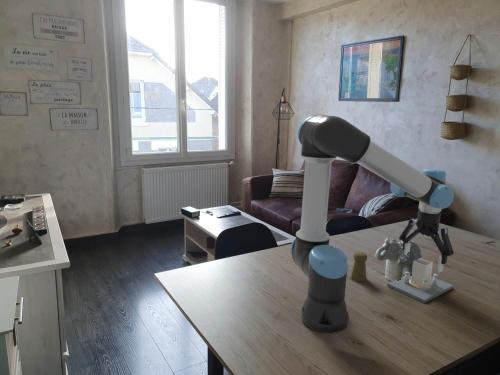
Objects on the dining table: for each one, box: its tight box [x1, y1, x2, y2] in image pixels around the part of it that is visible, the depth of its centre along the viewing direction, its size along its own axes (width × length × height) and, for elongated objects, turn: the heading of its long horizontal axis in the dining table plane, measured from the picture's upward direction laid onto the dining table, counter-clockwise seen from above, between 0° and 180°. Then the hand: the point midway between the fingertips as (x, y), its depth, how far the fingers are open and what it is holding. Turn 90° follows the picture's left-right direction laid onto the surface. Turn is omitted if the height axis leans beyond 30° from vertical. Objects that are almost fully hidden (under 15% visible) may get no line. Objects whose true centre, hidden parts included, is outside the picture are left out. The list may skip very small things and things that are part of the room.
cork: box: [350, 251, 368, 283], centre depth 148 cm, size 6×6×11 cm
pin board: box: [386, 271, 454, 304], centre depth 142 cm, size 20×15×6 cm
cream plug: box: [411, 258, 434, 288], centre depth 142 cm, size 5×5×9 cm
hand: (422, 264), depth 141 cm, fingers open, 13 cm apart
